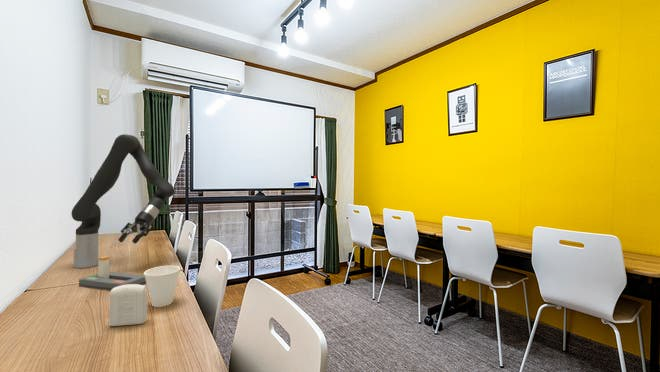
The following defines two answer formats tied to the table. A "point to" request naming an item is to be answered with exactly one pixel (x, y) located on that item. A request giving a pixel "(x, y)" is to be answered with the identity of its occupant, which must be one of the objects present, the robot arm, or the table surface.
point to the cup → (162, 284)
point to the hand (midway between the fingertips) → (126, 241)
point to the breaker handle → (103, 267)
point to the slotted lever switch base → (111, 280)
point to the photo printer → (128, 305)
